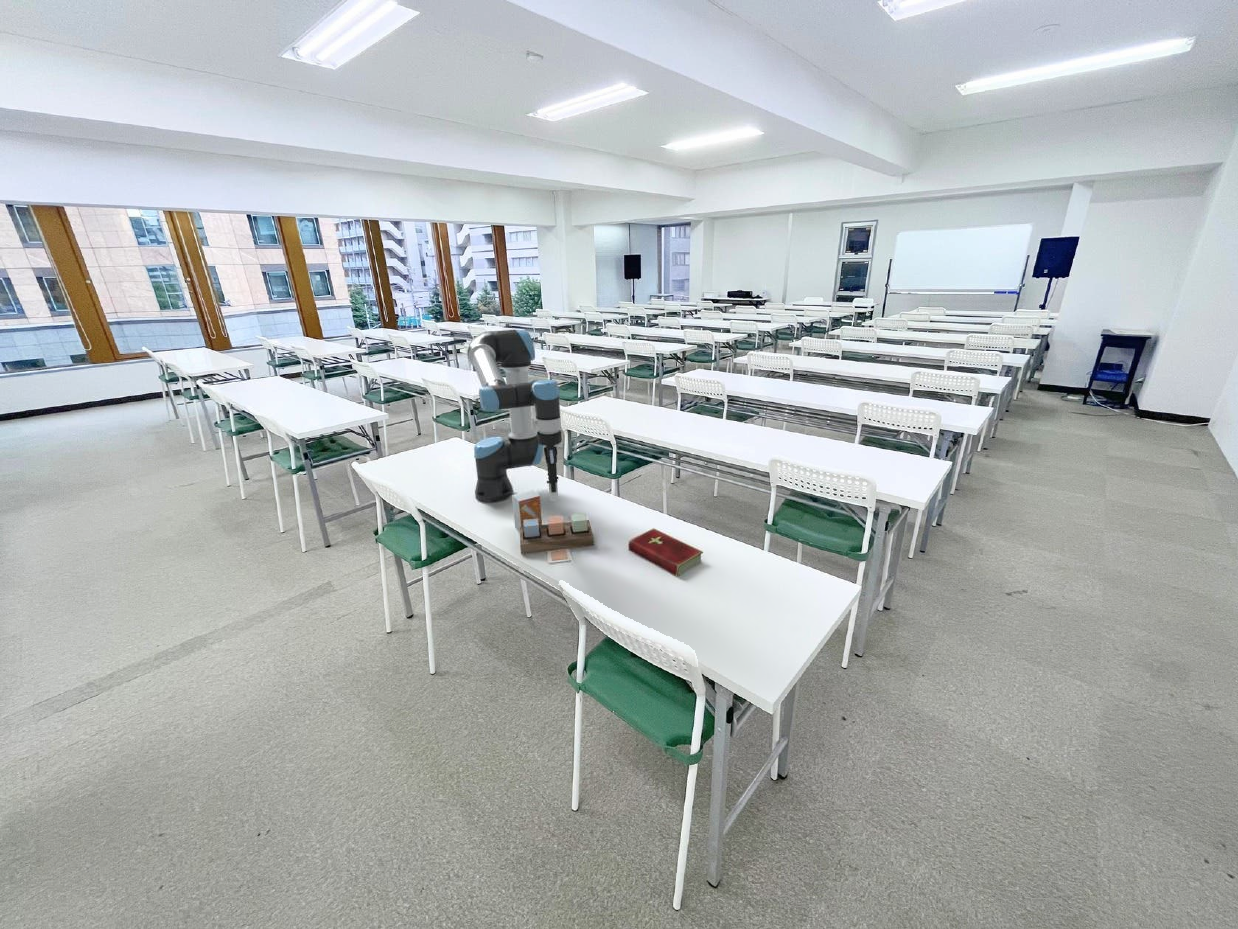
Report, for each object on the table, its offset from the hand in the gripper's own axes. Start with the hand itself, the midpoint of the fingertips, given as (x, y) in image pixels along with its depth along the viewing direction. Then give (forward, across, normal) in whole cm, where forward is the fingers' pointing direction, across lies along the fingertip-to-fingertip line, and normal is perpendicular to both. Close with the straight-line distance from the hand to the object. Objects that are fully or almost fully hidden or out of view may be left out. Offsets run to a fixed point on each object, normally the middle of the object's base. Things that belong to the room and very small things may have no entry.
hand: (554, 499), depth 162 cm
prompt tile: (+16, +9, 0) cm, 18 cm away
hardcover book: (+17, +16, +33) cm, 40 cm away
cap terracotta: (+13, -1, 0) cm, 13 cm away
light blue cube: (+13, -1, -8) cm, 15 cm away
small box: (+16, -12, -9) cm, 22 cm away
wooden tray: (+16, -1, 0) cm, 16 cm away
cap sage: (+13, -1, +8) cm, 15 cm away
